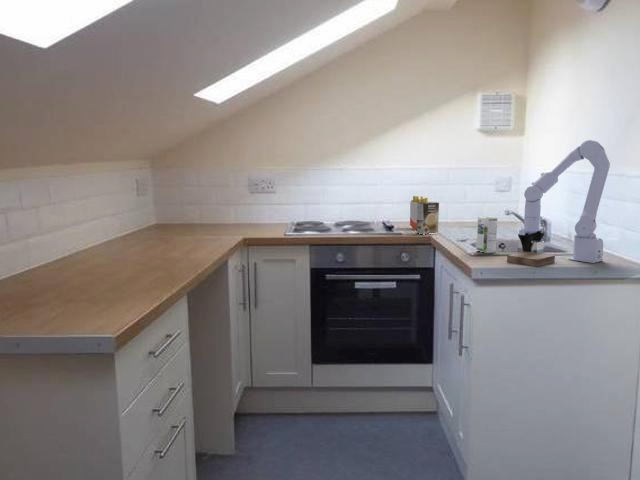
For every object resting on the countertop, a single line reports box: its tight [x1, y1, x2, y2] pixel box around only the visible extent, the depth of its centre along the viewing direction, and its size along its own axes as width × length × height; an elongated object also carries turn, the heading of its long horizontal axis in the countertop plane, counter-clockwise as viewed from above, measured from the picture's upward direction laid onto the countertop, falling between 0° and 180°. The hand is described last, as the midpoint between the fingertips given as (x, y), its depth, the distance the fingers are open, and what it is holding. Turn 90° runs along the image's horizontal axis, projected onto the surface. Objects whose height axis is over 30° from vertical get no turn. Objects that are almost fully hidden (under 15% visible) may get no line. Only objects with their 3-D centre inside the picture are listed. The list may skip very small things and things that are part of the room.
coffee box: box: [415, 201, 440, 235], centre depth 269 cm, size 9×6×16 cm
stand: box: [506, 251, 556, 267], centre depth 197 cm, size 12×12×2 cm
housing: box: [517, 239, 545, 254], centre depth 210 cm, size 8×5×6 cm, turn 39°
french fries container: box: [409, 195, 429, 230], centre depth 285 cm, size 5×11×18 cm, turn 41°
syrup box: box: [476, 215, 498, 254], centre depth 218 cm, size 6×6×14 cm
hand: (530, 251), depth 210 cm, fingers open, 6 cm apart
